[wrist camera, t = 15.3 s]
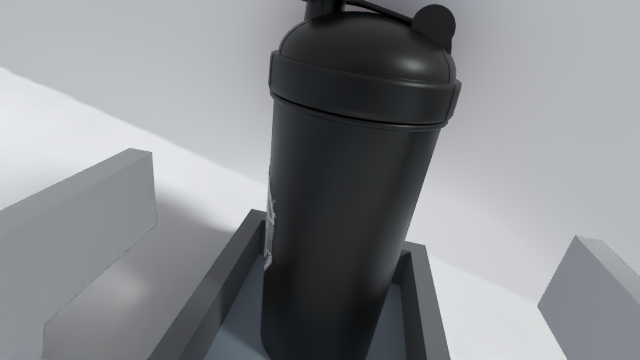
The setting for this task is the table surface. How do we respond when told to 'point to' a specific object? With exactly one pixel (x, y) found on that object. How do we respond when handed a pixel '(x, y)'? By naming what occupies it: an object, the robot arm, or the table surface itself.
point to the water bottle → (347, 168)
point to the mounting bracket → (30, 348)
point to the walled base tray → (246, 305)
